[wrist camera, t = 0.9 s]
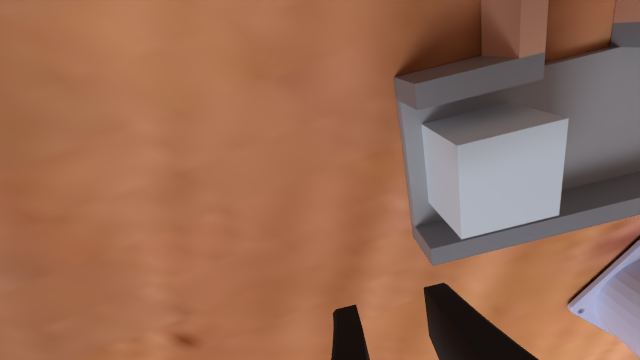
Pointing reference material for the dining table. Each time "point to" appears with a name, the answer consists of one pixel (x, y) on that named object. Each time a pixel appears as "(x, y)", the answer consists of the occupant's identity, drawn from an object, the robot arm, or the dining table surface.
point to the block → (495, 167)
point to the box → (542, 94)
